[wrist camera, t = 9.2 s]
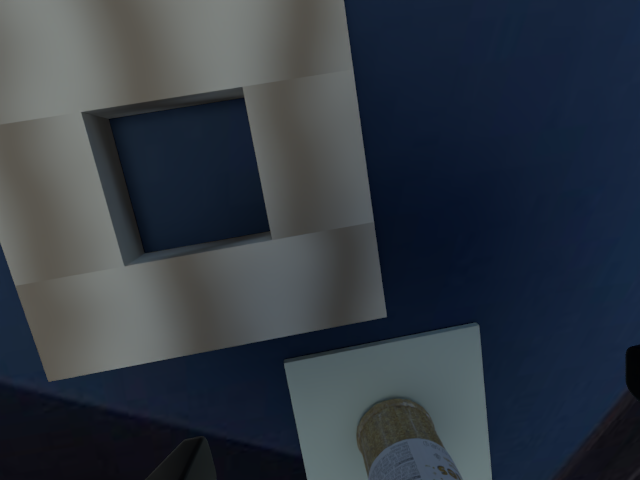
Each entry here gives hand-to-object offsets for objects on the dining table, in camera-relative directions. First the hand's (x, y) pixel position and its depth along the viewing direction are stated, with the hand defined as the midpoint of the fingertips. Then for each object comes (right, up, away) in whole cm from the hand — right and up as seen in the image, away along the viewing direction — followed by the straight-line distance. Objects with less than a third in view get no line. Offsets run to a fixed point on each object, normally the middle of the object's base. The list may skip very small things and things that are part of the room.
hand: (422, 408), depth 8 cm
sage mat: (+2, -7, +15) cm, 17 cm away
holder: (-8, +7, +11) cm, 15 cm away
